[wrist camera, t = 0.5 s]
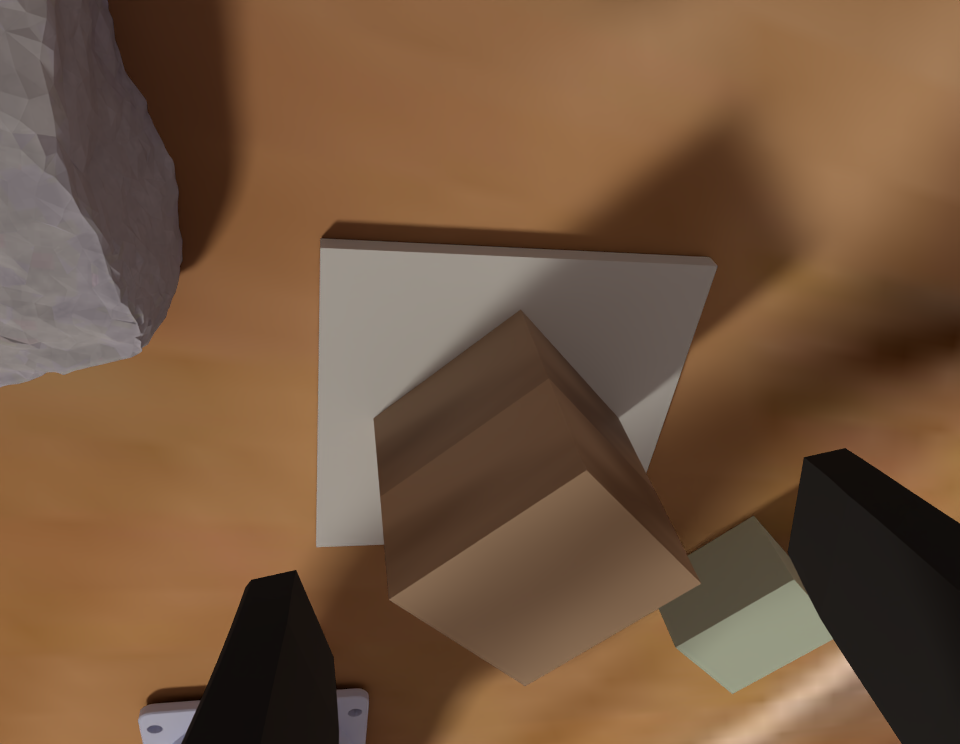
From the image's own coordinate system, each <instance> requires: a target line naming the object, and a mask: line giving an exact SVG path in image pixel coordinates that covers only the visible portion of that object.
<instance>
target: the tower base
mask: <svg viewBox="0 0 960 744" xmlns="http://www.w3.org/2000/svg"><path fill="white" fill-rule="evenodd" d="M547 379H550V380H551V381H552V382H553V383H554V384H555V385H556V386H557V387H558V388H559V390H560V391H561V392H562V393H563V394H564V395H565V396H566V397H567V398H568V399H569V400H570V401H571V402H572V403H573V404H574V405H575V406H576V408H577V409H578V410H579V411H580V412H581V413H582V414H583V415H584V416H585V417H586V418H587V419H588V420H589V421H590V422H591V423H592V425H593V426H594V427H595V428H596V429H597V430H598V431H599V432H600V433H601V434H602V435H603V436H604V437H605V438H606V439H607V440H608V441H609V443H610V444H611V445H612V446H613V447H614V448H615V449H616V450H617V451H618V452H619V453H620V454H621V455H622V456H623V457H624V458H625V459H626V461H627V462H628V463H629V464H630V465H631V466H632V467H633V468H634V469H635V470H636V471H637V472H638V473H639V474H640V475H641V476H642V478H643V479H644V480H645V481H646V482H647V483H648V484H649V485H650V486H651V487H652V488H653V486H652V484H651V482H650V480H649V478H648V476H647V474H646V472H645V470H644V468H643V466H642V464H641V462H640V460H639V458H638V456H637V454H636V452H635V450H634V448H633V446H632V444H631V442H630V440H629V438H628V436H627V434H626V432H625V430H624V428H623V426H622V424H621V422H620V420H619V418H618V417H617V416H616V415H615V413H614V412H613V411H612V410H611V409H610V408H609V407H608V406H607V405H606V403H605V402H604V401H603V400H602V399H601V398H600V397H599V396H598V395H597V393H596V392H595V391H594V390H593V389H592V388H591V387H590V386H589V385H588V384H587V382H586V381H585V380H584V379H583V378H582V377H581V376H580V375H579V374H578V372H577V371H576V370H575V369H574V368H573V367H572V366H571V365H570V364H569V362H568V361H567V360H566V359H565V358H564V357H563V356H562V355H561V354H560V352H559V351H558V350H557V349H556V348H555V347H554V346H553V345H552V344H551V342H550V341H549V340H548V339H547V338H546V337H545V336H544V335H543V334H542V332H541V331H540V330H539V329H538V328H537V327H536V326H535V325H534V324H533V322H532V321H531V320H530V319H529V318H528V317H527V316H526V315H525V314H524V312H523V311H522V310H519V311H518V312H517V313H515V314H514V315H512V316H511V317H510V318H508V319H507V320H506V321H504V322H503V323H502V324H500V325H499V326H498V327H496V328H495V329H494V330H492V331H491V332H489V333H488V334H487V335H485V336H484V337H483V338H481V339H480V340H479V341H477V342H476V343H475V344H473V345H472V346H471V347H469V348H468V349H466V350H465V351H464V352H462V353H461V354H460V355H458V356H457V357H456V358H454V359H453V360H452V361H450V362H449V363H448V364H446V365H445V366H443V367H442V368H441V369H439V370H438V371H437V372H435V373H434V374H433V375H431V376H430V377H429V378H427V379H426V380H425V381H423V382H422V383H420V384H419V385H418V386H416V387H415V388H414V389H412V390H411V391H410V392H408V393H407V394H406V395H404V396H403V397H402V398H400V399H399V400H397V401H396V402H395V403H393V404H392V405H391V406H389V407H388V408H387V409H385V410H384V411H383V412H381V413H380V414H379V415H377V416H376V417H374V418H373V420H374V432H375V443H376V455H377V467H378V479H379V490H380V497H381V496H382V495H384V494H385V493H386V492H388V491H389V490H391V489H392V488H394V487H395V486H396V485H398V484H399V483H401V482H402V481H404V480H405V479H406V478H408V477H409V476H411V475H412V474H413V473H415V472H416V471H418V470H419V469H421V468H422V467H423V466H425V465H426V464H428V463H429V462H431V461H432V460H433V459H435V458H436V457H438V456H439V455H441V454H442V453H443V452H445V451H446V450H448V449H449V448H450V447H452V446H453V445H455V444H456V443H458V442H459V441H460V440H462V439H463V438H465V437H466V436H468V435H469V434H470V433H472V432H473V431H475V430H476V429H478V428H479V427H480V426H482V425H483V424H485V423H486V422H488V421H489V420H490V419H492V418H493V417H495V416H496V415H497V414H499V413H500V412H502V411H503V410H505V409H506V408H507V407H509V406H510V405H512V404H513V403H515V402H516V401H517V400H519V399H520V398H522V397H523V396H525V395H526V394H527V393H529V392H530V391H532V390H533V389H534V388H536V387H537V386H539V385H540V384H542V383H543V382H544V381H546V380H547ZM653 489H654V488H653Z"/></svg>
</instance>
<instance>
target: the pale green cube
mask: <svg viewBox="0 0 960 744" xmlns="http://www.w3.org/2000/svg"><path fill="white" fill-rule="evenodd" d="M688 558H689V560H690V562H691V564H692V566H693V568H694V570H695V572H696V574H697V576H698V578H699V580H700V582H701V584H700V585H698V586H696V587H695V588H693V589H691V590H689V591H688V592H686V593H684V594H683V595H681V596H679V597H677V598H676V599H674V600H672V601H671V602H669V603H667V604H665V605H664V606H662V607H660V608H659V610H660V613H661V615H662V617H663V620H664V622H665V624H666V627H667V629H668V631H669V634H670V636H671V638H672V640H673V643H674V645H675V647H676V648H677V649H678V650H679V651H680V652H682V653H683V654H684V655H685V656H687V657H688V658H689V659H690V660H692V661H693V662H694V663H695V664H696V665H698V666H699V667H700V668H701V669H703V670H704V671H705V672H706V673H707V674H709V675H710V676H711V677H712V678H714V679H715V680H716V681H717V682H718V683H720V684H721V685H722V686H723V687H725V688H726V689H727V690H728V691H730V692H731V693H732V694H733V693H735V692H737V691H739V690H740V689H742V688H744V687H746V686H748V685H750V684H751V683H753V682H755V681H757V680H759V679H761V678H763V677H764V676H766V675H768V674H770V673H772V672H774V671H775V670H777V669H779V668H781V667H783V666H785V665H786V664H788V663H790V662H792V661H794V660H796V659H797V658H799V657H801V656H803V655H805V654H807V653H808V652H810V651H812V650H814V649H816V648H818V647H819V646H821V645H823V644H825V643H827V642H829V641H830V640H832V639H833V638H832V636H831V635H830V633H829V632H828V630H827V629H826V627H825V625H824V624H823V622H822V621H821V619H820V617H819V615H818V613H817V611H816V609H815V608H814V606H813V604H812V602H811V600H810V598H809V596H808V594H807V592H806V590H805V588H804V586H803V584H802V582H801V580H800V578H799V575H798V573H797V571H796V569H795V567H794V565H793V563H792V561H791V559H790V557H789V556H788V555H787V554H786V552H785V551H784V550H783V549H782V548H781V547H780V545H779V544H778V543H777V542H776V541H775V540H774V538H773V537H772V536H771V535H770V534H769V533H768V532H767V530H766V529H765V528H764V527H763V526H762V525H761V523H760V522H759V521H758V520H757V519H756V518H755V516H752V517H751V518H749V519H747V520H746V521H744V522H742V523H741V524H739V525H737V526H736V527H734V528H732V529H731V530H729V531H727V532H726V533H724V534H722V535H721V536H719V537H718V538H716V539H714V540H713V541H711V542H709V543H708V544H706V545H704V546H703V547H701V548H699V549H698V550H696V551H694V552H693V553H691V554H689V555H688Z"/></svg>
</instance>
